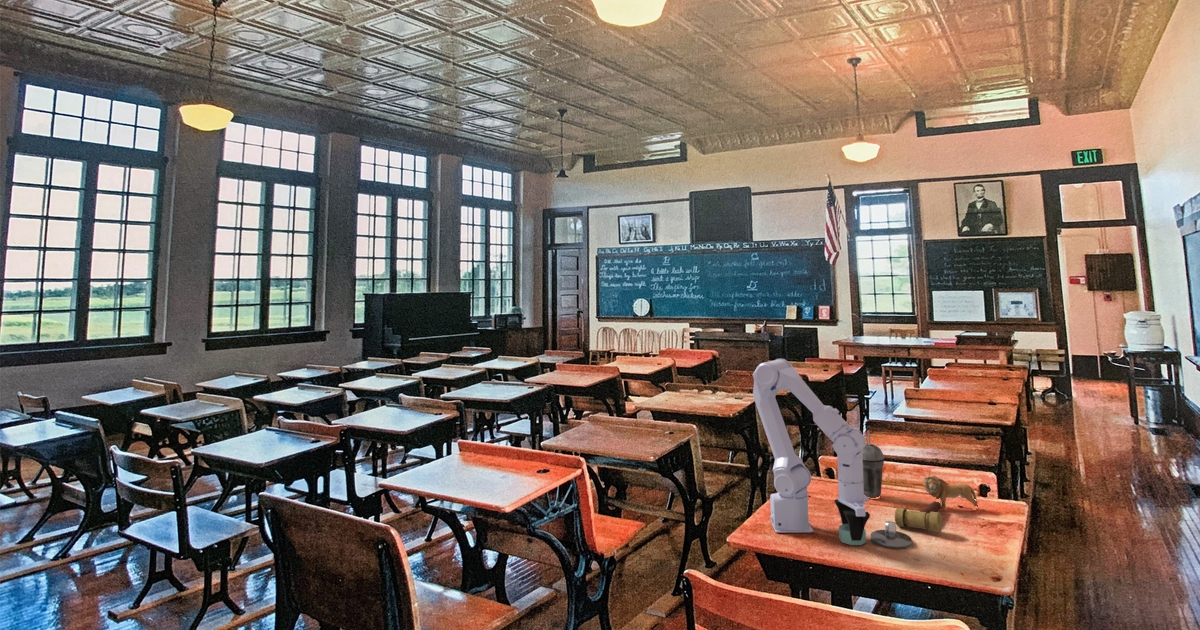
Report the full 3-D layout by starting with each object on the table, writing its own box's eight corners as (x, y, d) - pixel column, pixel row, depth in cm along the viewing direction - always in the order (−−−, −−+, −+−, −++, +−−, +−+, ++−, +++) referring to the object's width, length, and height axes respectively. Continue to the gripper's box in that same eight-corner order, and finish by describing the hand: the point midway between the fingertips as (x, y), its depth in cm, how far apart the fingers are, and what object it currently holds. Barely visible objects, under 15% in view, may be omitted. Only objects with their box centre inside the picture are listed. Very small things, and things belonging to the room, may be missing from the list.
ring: (844, 545, 144) (843, 532, 144) (837, 535, 150) (836, 523, 150) (868, 545, 144) (867, 532, 143) (860, 535, 149) (860, 523, 149)
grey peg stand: (878, 549, 142) (877, 530, 142) (865, 533, 151) (864, 516, 150) (918, 549, 141) (917, 530, 141) (902, 533, 150) (902, 515, 150)
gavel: (918, 493, 168) (958, 497, 161) (920, 510, 168) (960, 514, 161) (893, 509, 153) (936, 514, 146) (895, 527, 153) (938, 534, 146)
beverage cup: (889, 496, 176) (887, 428, 175) (880, 503, 171) (878, 433, 170) (863, 491, 181) (861, 425, 180) (854, 498, 176) (852, 430, 175)
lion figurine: (929, 510, 162) (928, 477, 162) (920, 505, 167) (919, 472, 167) (986, 511, 161) (984, 477, 161) (974, 505, 166) (973, 472, 166)
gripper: (878, 489, 138) (880, 547, 139) (857, 470, 153) (859, 522, 153) (846, 490, 139) (848, 547, 140) (829, 471, 154) (831, 523, 154)
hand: (852, 534), depth 147 cm, fingers closed on ring, 6 cm apart
